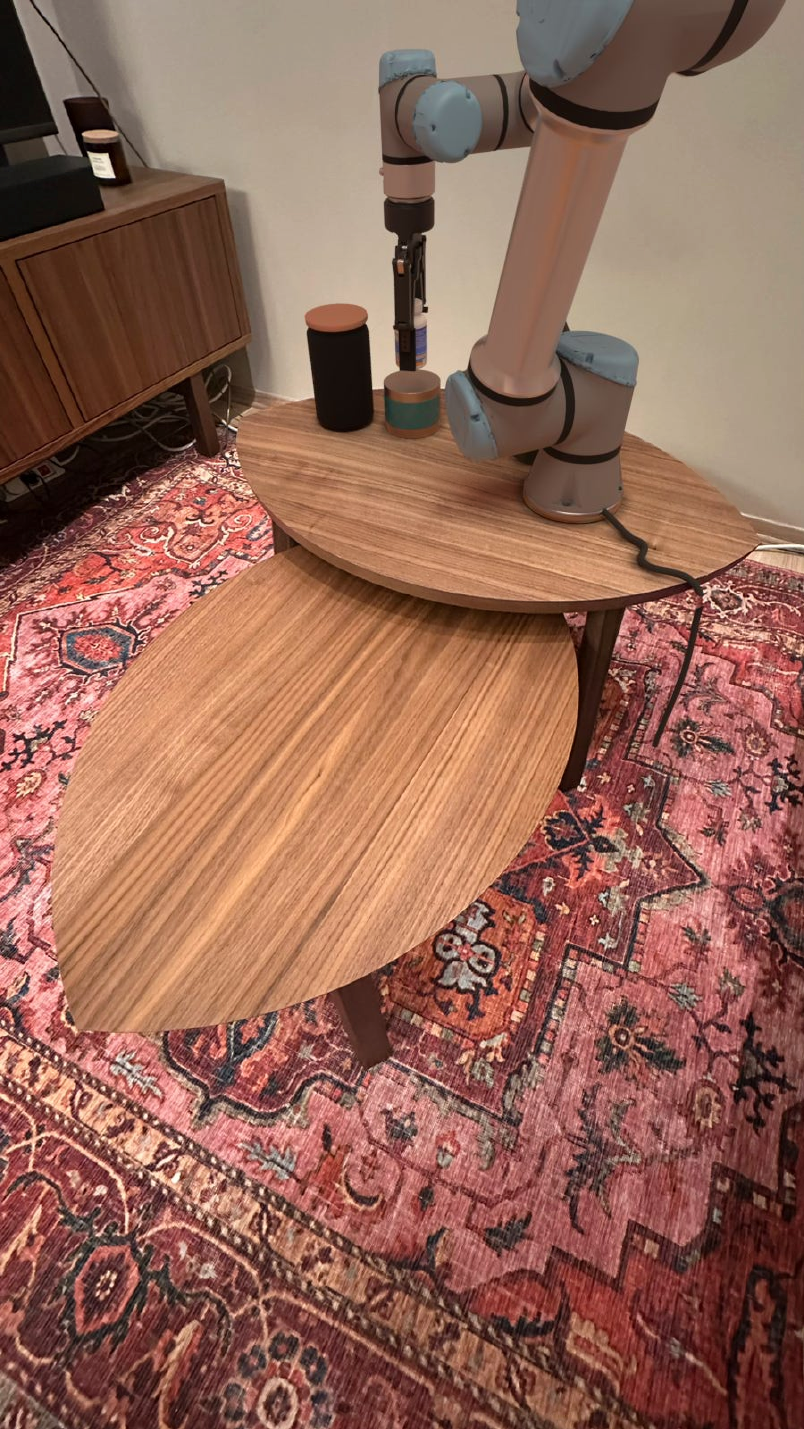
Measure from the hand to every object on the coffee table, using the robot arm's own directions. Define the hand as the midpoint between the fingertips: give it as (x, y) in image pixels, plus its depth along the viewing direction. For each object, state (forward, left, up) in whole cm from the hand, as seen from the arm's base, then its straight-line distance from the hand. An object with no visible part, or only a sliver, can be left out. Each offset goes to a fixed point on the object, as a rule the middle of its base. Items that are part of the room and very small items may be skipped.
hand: (411, 362), depth 117 cm
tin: (0, 0, -11) cm, 11 cm away
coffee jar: (+8, +10, -11) cm, 17 cm away
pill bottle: (0, 0, -1) cm, 1 cm away
